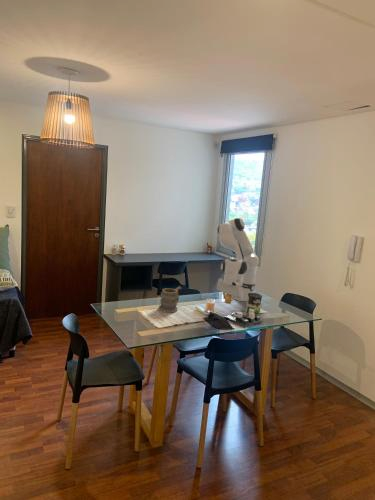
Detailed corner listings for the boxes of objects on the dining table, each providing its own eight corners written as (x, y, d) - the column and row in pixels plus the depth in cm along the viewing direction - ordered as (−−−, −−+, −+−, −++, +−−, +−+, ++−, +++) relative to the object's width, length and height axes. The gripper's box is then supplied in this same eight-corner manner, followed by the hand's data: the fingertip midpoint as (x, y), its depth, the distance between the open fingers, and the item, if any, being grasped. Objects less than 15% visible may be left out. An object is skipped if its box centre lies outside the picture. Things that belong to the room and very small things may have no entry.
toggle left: (236, 316, 246) (237, 312, 245) (238, 316, 247) (239, 311, 247) (240, 318, 243) (240, 313, 243) (242, 317, 245) (242, 313, 245)
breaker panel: (224, 319, 251) (224, 313, 250) (242, 314, 265) (242, 308, 264) (243, 327, 239) (244, 321, 238) (261, 322, 253) (262, 316, 252)
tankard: (169, 314, 250) (171, 293, 247) (155, 308, 257) (157, 288, 254) (186, 308, 265) (188, 288, 263) (173, 303, 273) (175, 283, 270)
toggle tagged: (248, 317, 247) (249, 312, 246) (250, 316, 248) (251, 312, 248) (252, 318, 244) (252, 314, 244) (254, 318, 246) (254, 313, 246)
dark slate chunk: (214, 331, 230) (214, 323, 229) (202, 317, 250) (203, 311, 249) (236, 330, 234) (237, 323, 233) (222, 317, 255) (223, 311, 254)
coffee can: (262, 315, 266) (264, 297, 264) (250, 316, 262) (252, 297, 260) (254, 310, 276) (257, 292, 273) (242, 311, 272) (245, 292, 269)
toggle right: (248, 313, 255) (249, 309, 254) (250, 312, 256) (251, 308, 256) (251, 314, 253) (252, 310, 252) (254, 314, 254) (254, 310, 254)
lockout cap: (223, 302, 254) (224, 294, 253) (227, 301, 257) (228, 293, 256) (228, 304, 251) (229, 295, 250) (232, 303, 254) (233, 294, 253)
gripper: (215, 277, 256) (213, 296, 258) (239, 285, 242) (236, 304, 244) (221, 276, 260) (219, 295, 263) (244, 283, 246) (242, 303, 249)
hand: (228, 299), depth 253 cm, fingers closed on lockout cap, 4 cm apart
